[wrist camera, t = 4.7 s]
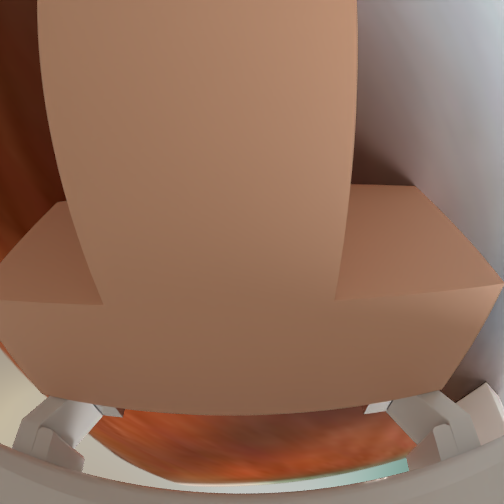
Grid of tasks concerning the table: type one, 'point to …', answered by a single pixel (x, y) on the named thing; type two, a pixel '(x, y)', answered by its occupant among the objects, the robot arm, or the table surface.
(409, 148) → the table surface
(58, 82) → the T block
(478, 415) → the milk
